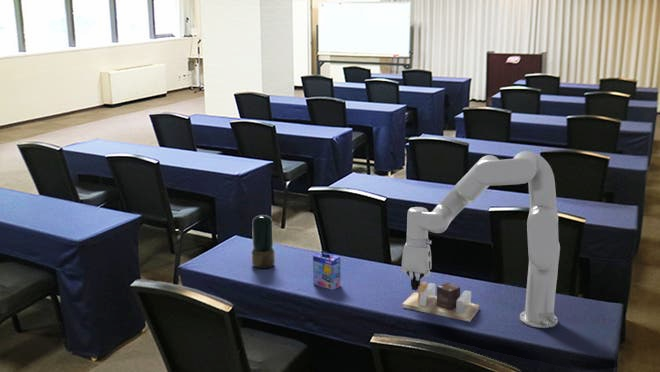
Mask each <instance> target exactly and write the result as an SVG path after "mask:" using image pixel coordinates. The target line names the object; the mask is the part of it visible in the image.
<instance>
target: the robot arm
mask: <svg viewBox="0 0 660 372" xmlns="http://www.w3.org/2000/svg"><path fill="white" fill-rule="evenodd" d="M527 183H528V196H529V198H528V199H529V213H528V217H527V221H526V226H527V227H526V230H527V233H526V234H527V248H528V249H527V250H528V270H527V279H526V282H527V283H526V290H525V291H526V292H525V305H524V310H523V311H521V313H520V314H519V320H520V321H521V322H522V323H523V324H525V325H527V326H530V327H533V328H539V329H549V327H550V328H554V327H555V326H557V325H558V321H559V319H558V317H557V316H556V315H555V313H554V312H555V300H556V290H557V280H558V273H559V272H558V270H559V261H560V253H561V252H560V251H561V246H560V242H559V214H558V208H557V207H558V206H557V193H556V182H555V175H554V172H553V169H552V167H551V165H550V164H549V162H548V161H547V160H546V159H545V158H544V157H543V156H541V155H539V154H538V153H536V152H534V151H529V150H528V151H527V150H524V151H519V152H518V153H516V154H515V155H514V157H513V158H508V159H506V158H505V159H499V158H498V157H497V156H494V155H491V154H488V155H485V156H484V155H483V156H482V157H481V158H480V159H479V160H478V161H477V162H476V163H475V164H474V165H473V166H472V167H471V168H470V169H469V170H468V172H467V173H465V175H464V176H462V177H461V179H460V180H459V181H458V182H457V183H456V184H455V185H454V187H453V188H452V189H451V190H450V191H449V193H448V194H447V195H445V197H444V198H443V199H442V200H441V201H440V202H439V203H438V204H437V205H436V206H435V208H433V210H432V211H429V210H428V209H427V208H426V207H422V206H414V207H413V206H412V207H410V208H409V209H408V210H407V214H406V215H407V217H406V219H407V220H406V223H407V224H406V242H405V244H404V246H403V251H402V256H401V257H402V259H401V272H402V273H404V274H406V275H407V276H408V277H409V279H410V287H411V290H412V291H414V292H416V291H418V287H419V285H420V284H421V279H422V278H427V277H430V276H431V271H430V270H432V251H431V246H430V245H432V240H430V239H429V232H431V233H434V234H441V233H444V232H445V231H446V230H447V229H448V227H449V225H450V224H451V222H452V221H453V220H454V219H455V218H456V217H457V216H458V214H460V213H461V211H463V210H464V209H465V207H467V206H468V205H470V204H473V203H474V202H475V201H476V200H477V199H479V197H480V196H481V195H482V194H483V193H484V192H485V191H486V190H487V189H488V188H489V187H490V186H493V187H494V186H509V185H521V184H527ZM556 324H557V325H556Z"/></svg>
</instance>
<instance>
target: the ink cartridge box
mask: <svg viewBox="0 0 660 372" xmlns="http://www.w3.org/2000/svg"><path fill="white" fill-rule="evenodd" d="M312 263H313V264H312V267H313V269H312V270H313V271H312V272H313V274H312V275H313V276H312V278H313V279H312V280H313V283H312V284H313V285H314V286H315V285H316V286H318V287H322V288H326V289H329V290H331V291H332V290H336V289H338V288H339V287H341V285H342V284H341V276H342V274H341V256H338V255H333V254H330V253H329V252H327V251H324V250H320V252H318V253H315V254H314V255H312Z"/></svg>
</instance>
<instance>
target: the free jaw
mask: <svg viewBox="0 0 660 372" xmlns="http://www.w3.org/2000/svg"><path fill="white" fill-rule="evenodd" d="M436 290H437V286H436V283H433V282H429V283H428V281H423V280H422V282H420V285H419V287H418V289H417V293H418V302H420V305H421V306H427V305H428V304H429V303H430V302H431V301H432V299H433V298H434V297H435V296H436Z"/></svg>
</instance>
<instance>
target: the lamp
mask: <svg viewBox="0 0 660 372" xmlns="http://www.w3.org/2000/svg"><path fill="white" fill-rule="evenodd" d="M251 223H252V228H251V229H252V247H253V248H252V250H251V264H252V266H253V267H255V268H256V269H261V268H264V269H268V268H271V267H273V266H274V264H275V262H276V261H275V258H276V257H275V249H274V247H273V245H274V227H273V226H274V225H273V224H274V223H273V220H272V217H270V216H269V215H267V214H259V215H257V216H255V217H254V218H253V219H252V222H251Z"/></svg>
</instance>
